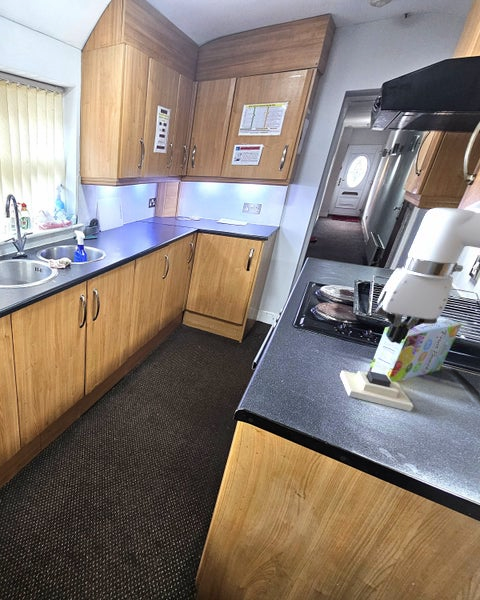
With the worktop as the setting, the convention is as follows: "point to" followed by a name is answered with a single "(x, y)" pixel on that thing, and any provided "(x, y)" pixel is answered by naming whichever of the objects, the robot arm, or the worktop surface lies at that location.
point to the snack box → (415, 350)
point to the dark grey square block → (378, 379)
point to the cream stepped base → (375, 391)
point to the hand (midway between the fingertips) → (393, 340)
